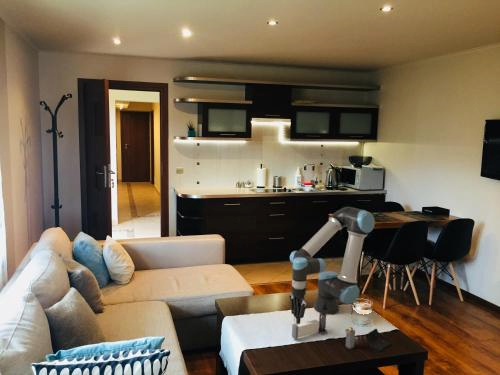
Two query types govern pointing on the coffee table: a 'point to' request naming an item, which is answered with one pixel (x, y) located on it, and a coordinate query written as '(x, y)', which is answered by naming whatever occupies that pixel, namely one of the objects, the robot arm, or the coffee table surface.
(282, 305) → the coffee table surface
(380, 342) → the black angled block
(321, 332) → the hinge post
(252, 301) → the coffee table surface
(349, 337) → the stile post
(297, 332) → the gate
